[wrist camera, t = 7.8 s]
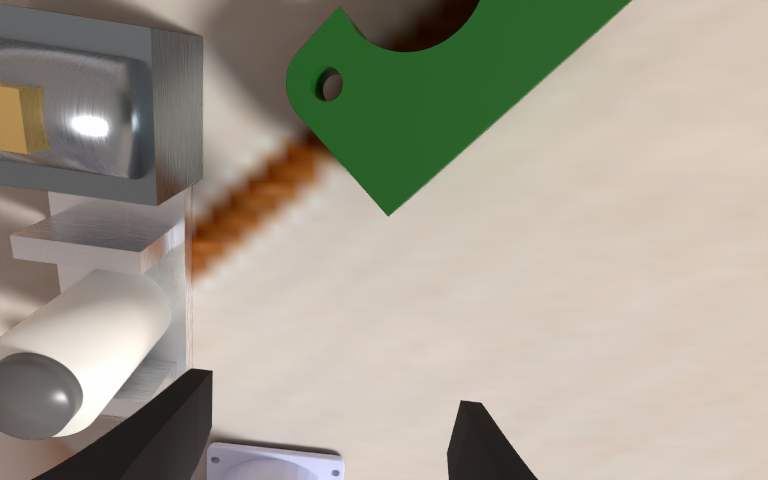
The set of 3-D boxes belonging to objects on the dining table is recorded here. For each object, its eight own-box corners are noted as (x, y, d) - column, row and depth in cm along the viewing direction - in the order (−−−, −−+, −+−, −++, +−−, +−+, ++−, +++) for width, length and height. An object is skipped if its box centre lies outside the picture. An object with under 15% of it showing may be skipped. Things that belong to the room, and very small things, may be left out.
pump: (185, 294, 22) (107, 387, 15) (150, 360, 23) (64, 470, 17) (95, 248, 21) (-28, 327, 14) (64, 320, 22) (-62, 421, 16)
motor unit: (201, 371, 24) (132, 486, 18) (69, 355, 24) (-53, 467, 17) (202, 36, 18) (97, 18, 12) (26, 8, 18) (-188, -28, 11)
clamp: (474, -25, 21) (583, -244, 12) (556, 69, 22) (721, -80, 13) (282, 129, 20) (247, 1, 11) (373, 231, 20) (414, 190, 11)
